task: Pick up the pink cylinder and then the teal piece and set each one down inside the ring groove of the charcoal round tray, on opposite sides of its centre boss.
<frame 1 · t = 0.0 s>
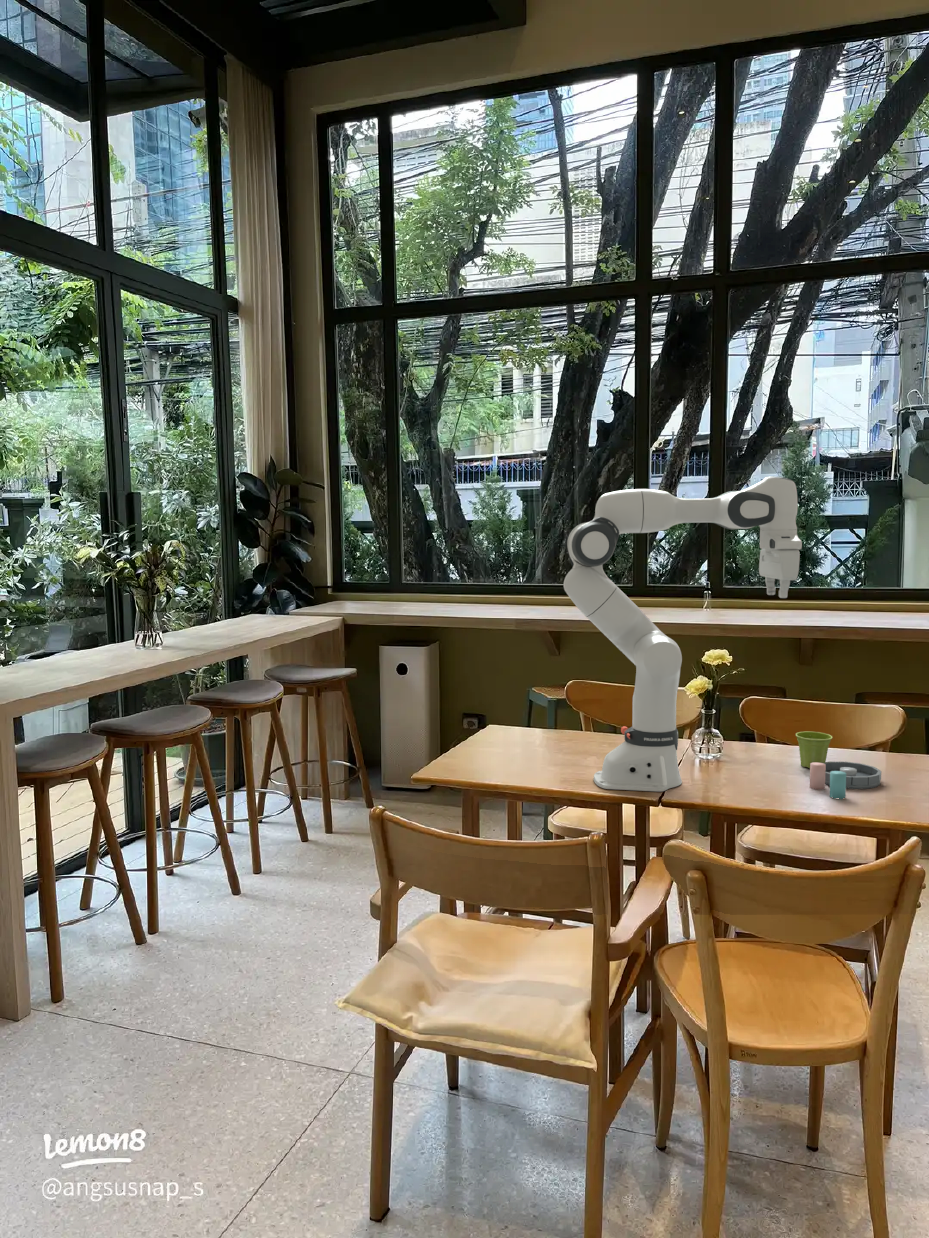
hand: (776, 596, 231), 48 cm above the table, tool pointing down, fingers open, 8 cm apart
teal piece: (837, 796, 221), on the table
groove tray: (847, 780, 235), on the table
pink cylinder: (817, 787, 229), on the table
plant pot: (813, 767, 249), on the table
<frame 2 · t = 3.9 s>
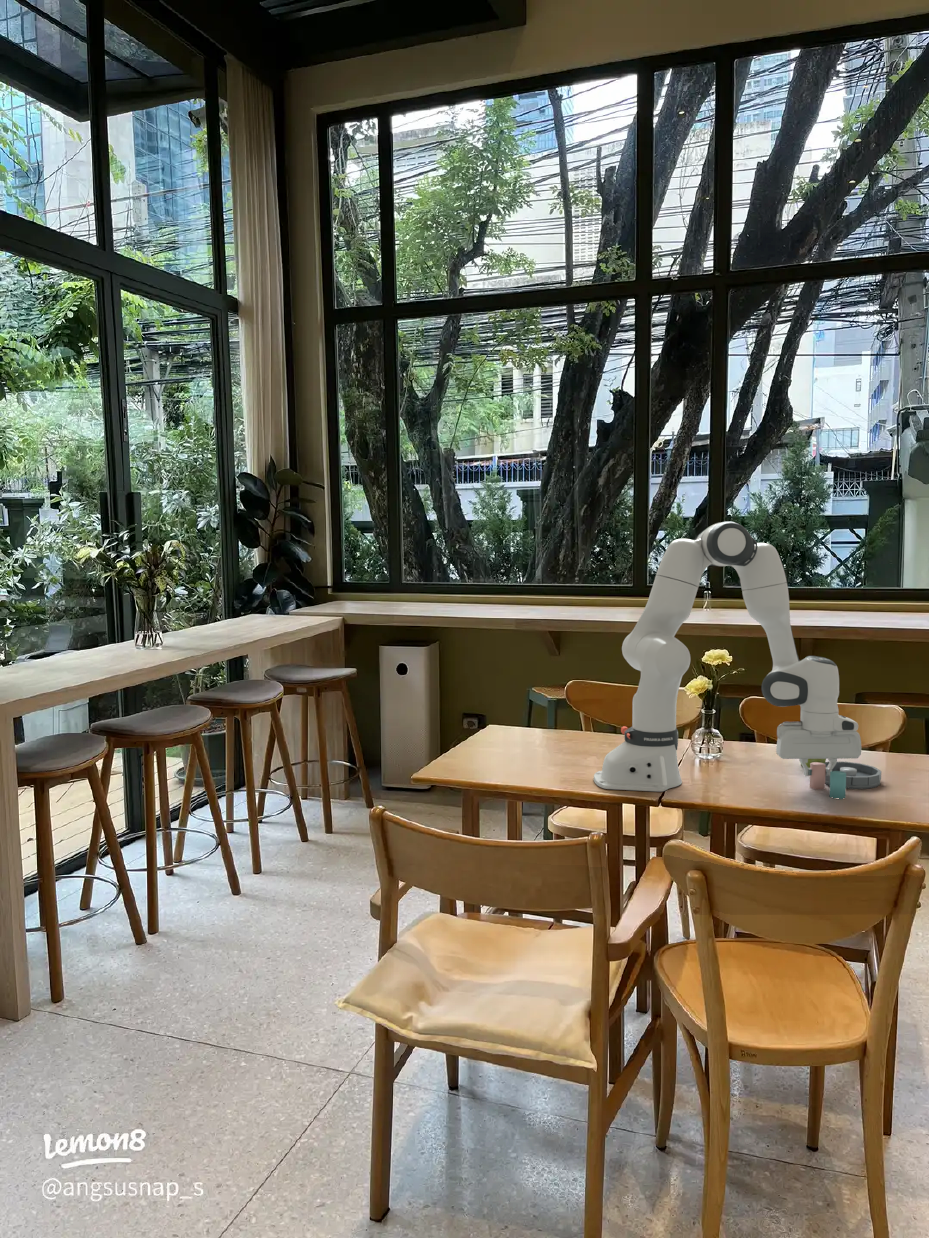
hand: (817, 775, 229), 3 cm above the table, tool pointing down, fingers closed on pink cylinder, 4 cm apart
pink cylinder: (817, 787, 229), on the table, touching gripper
everything else where it was.
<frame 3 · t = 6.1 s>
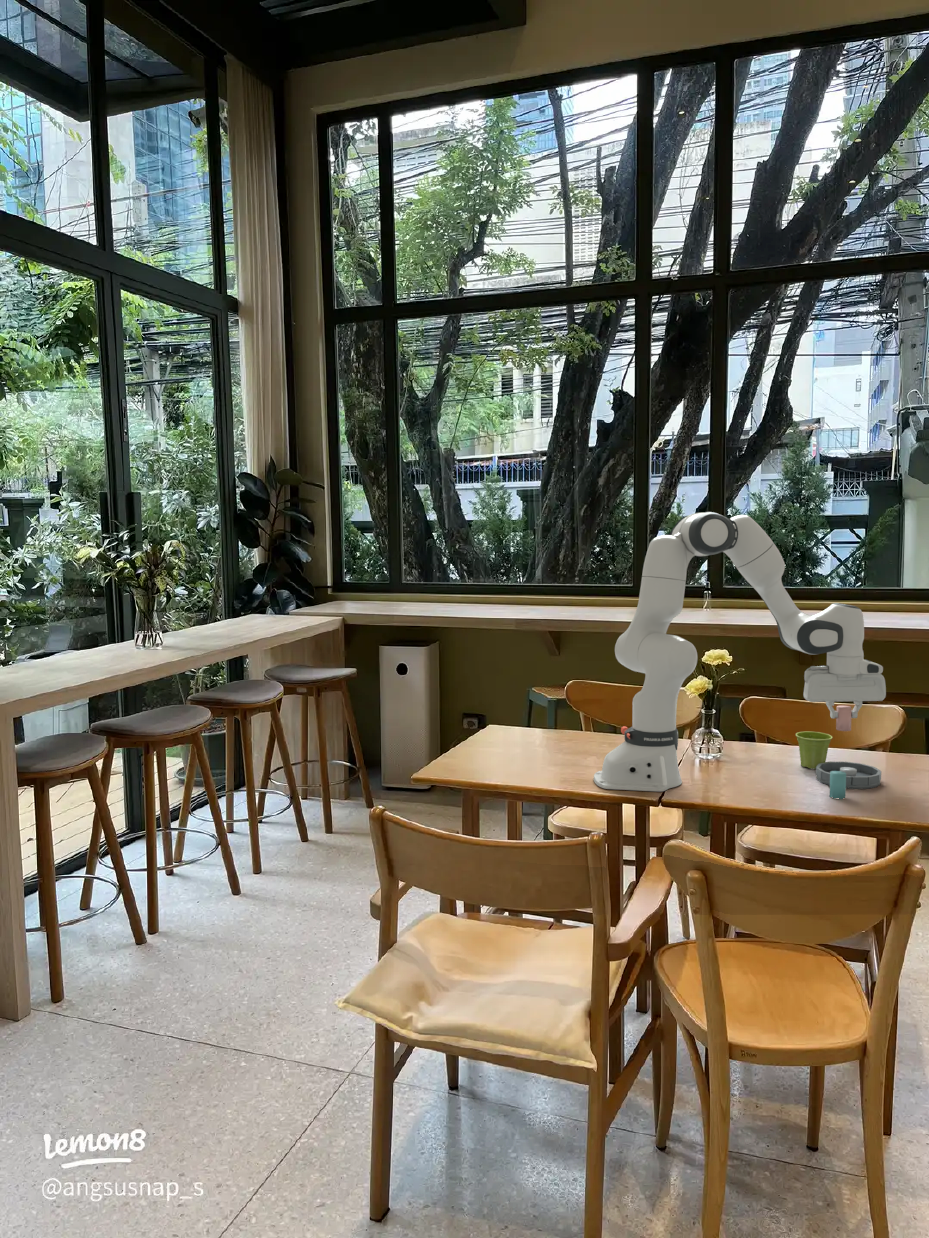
hand: (843, 717, 238), 16 cm above the table, tool pointing down, fingers closed on pink cylinder, 4 cm apart
pink cylinder: (843, 729, 238), point 12 cm above the table, touching gripper
everything else where it was.
when the fingers open (6 cm above the table, at t = 8.2 s): pink cylinder drops 1 cm, resting on groove tray.
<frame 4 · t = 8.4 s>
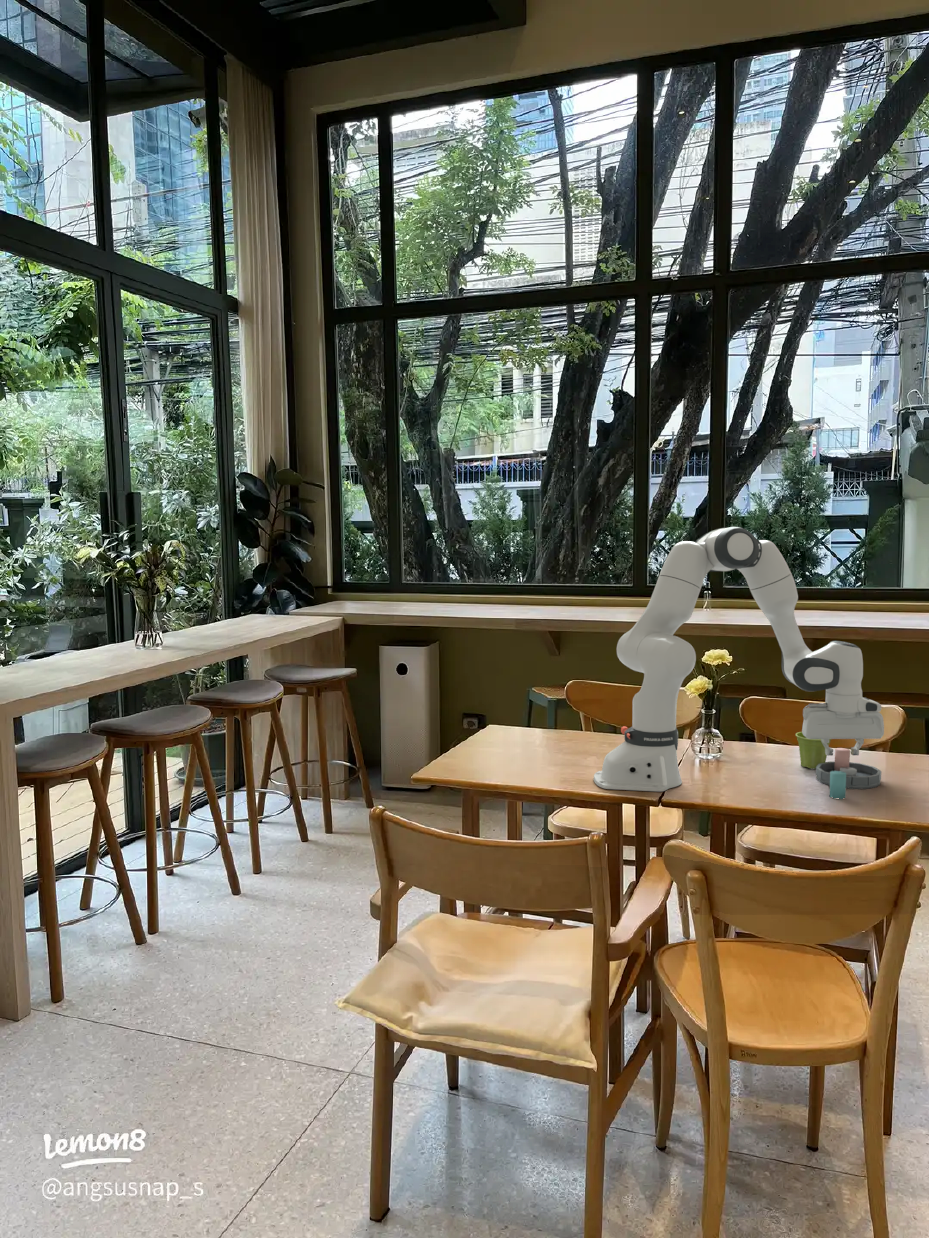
hand: (841, 754, 239), 6 cm above the table, tool pointing down, fingers open, 5 cm apart
pink cylinder: (841, 771, 239), point 1 cm above the table, touching groove tray
everything else where it was.
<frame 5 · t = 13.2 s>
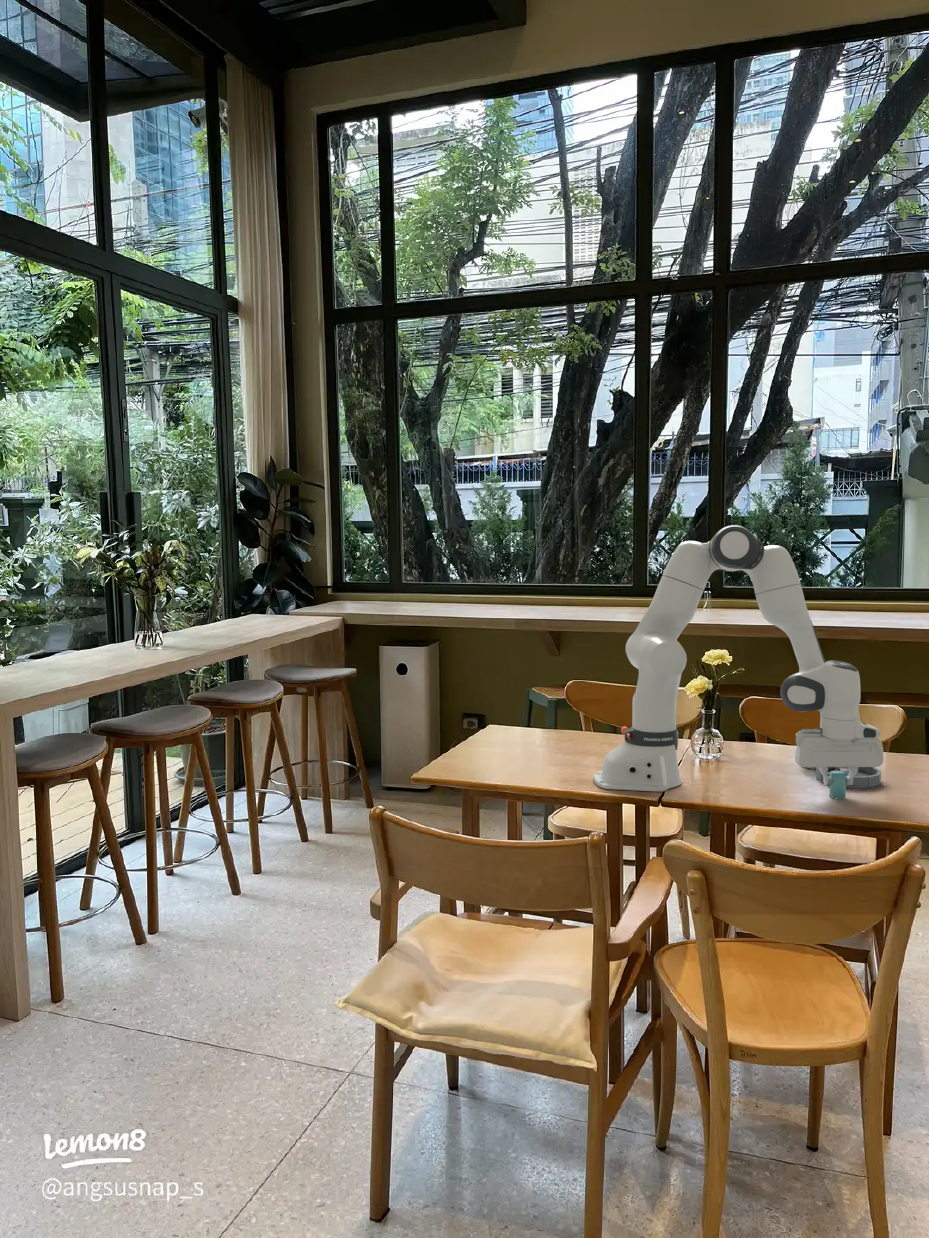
hand: (837, 784, 221), 3 cm above the table, tool pointing down, fingers closed on teal piece, 4 cm apart
teal piece: (837, 796, 221), on the table, touching gripper
everything else where it was.
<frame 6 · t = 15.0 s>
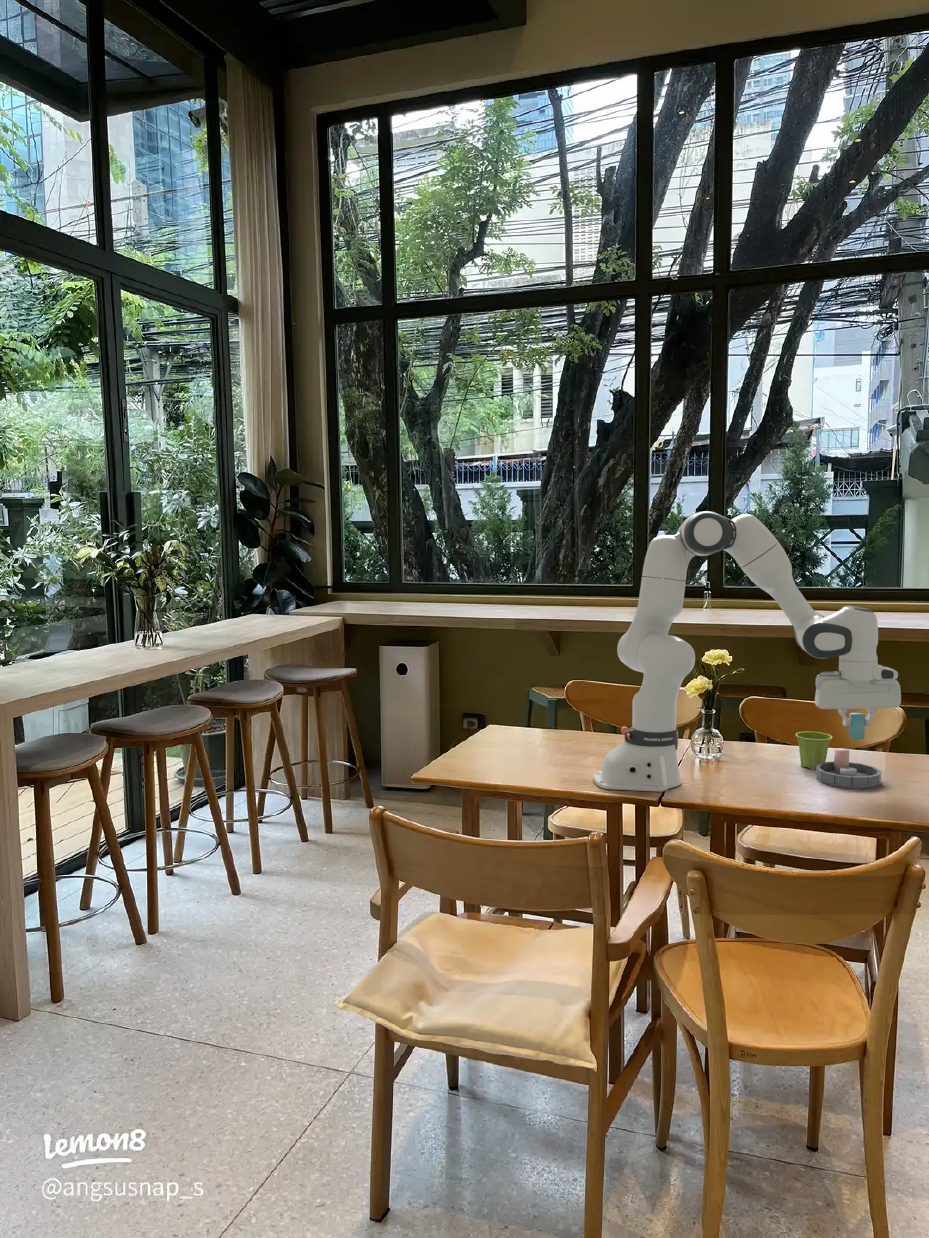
hand: (856, 725, 228), 16 cm above the table, tool pointing down, fingers closed on teal piece, 4 cm apart
teal piece: (856, 737, 228), point 13 cm above the table, touching gripper
everything else where it was.
when the fingers open (6 cm above the table, at t = 17.2 s): teal piece drops 1 cm, resting on groove tray.
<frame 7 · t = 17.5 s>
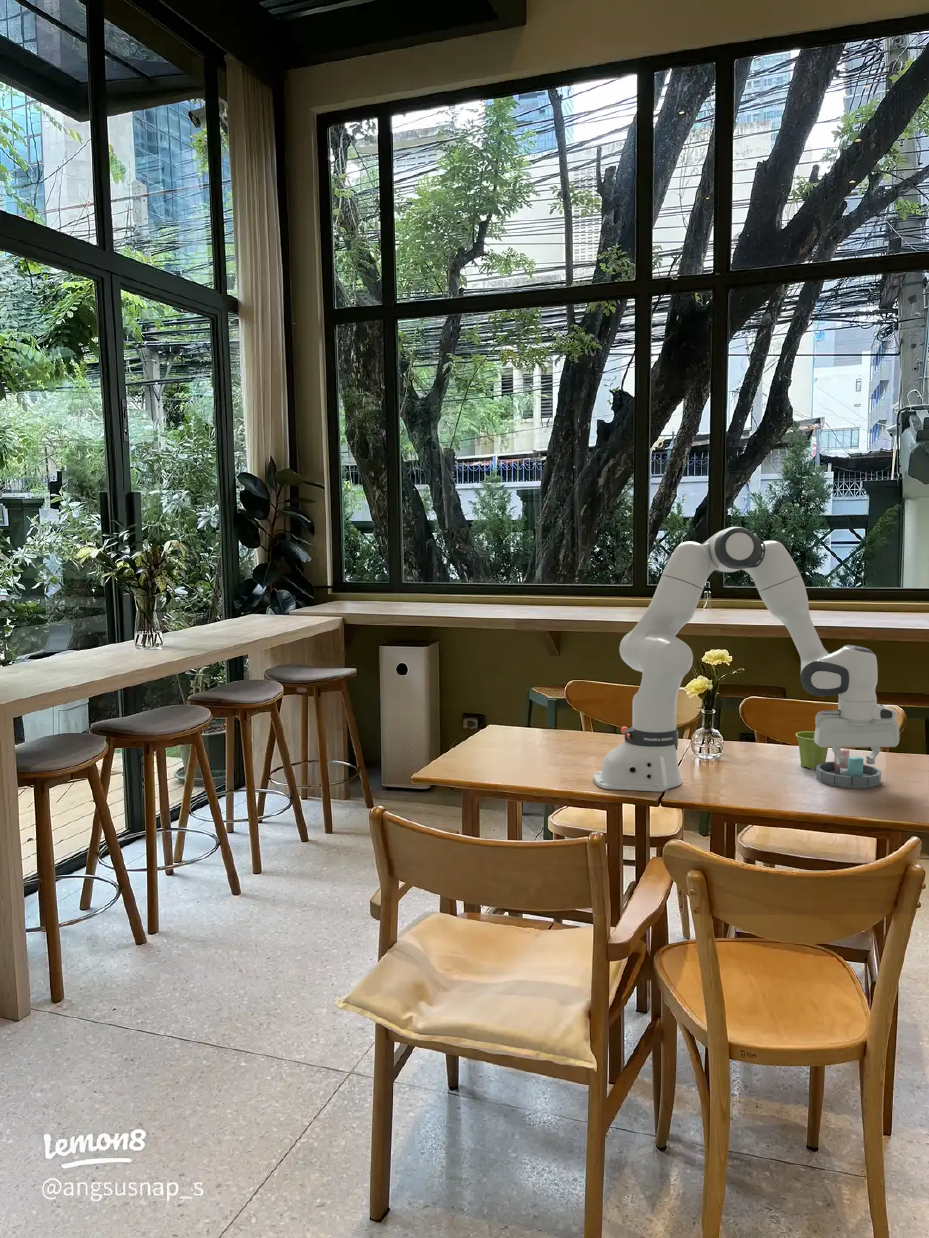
hand: (855, 763, 230), 6 cm above the table, tool pointing down, fingers open, 6 cm apart
teal piece: (854, 781, 231), point 1 cm above the table, touching groove tray
everything else where it was.
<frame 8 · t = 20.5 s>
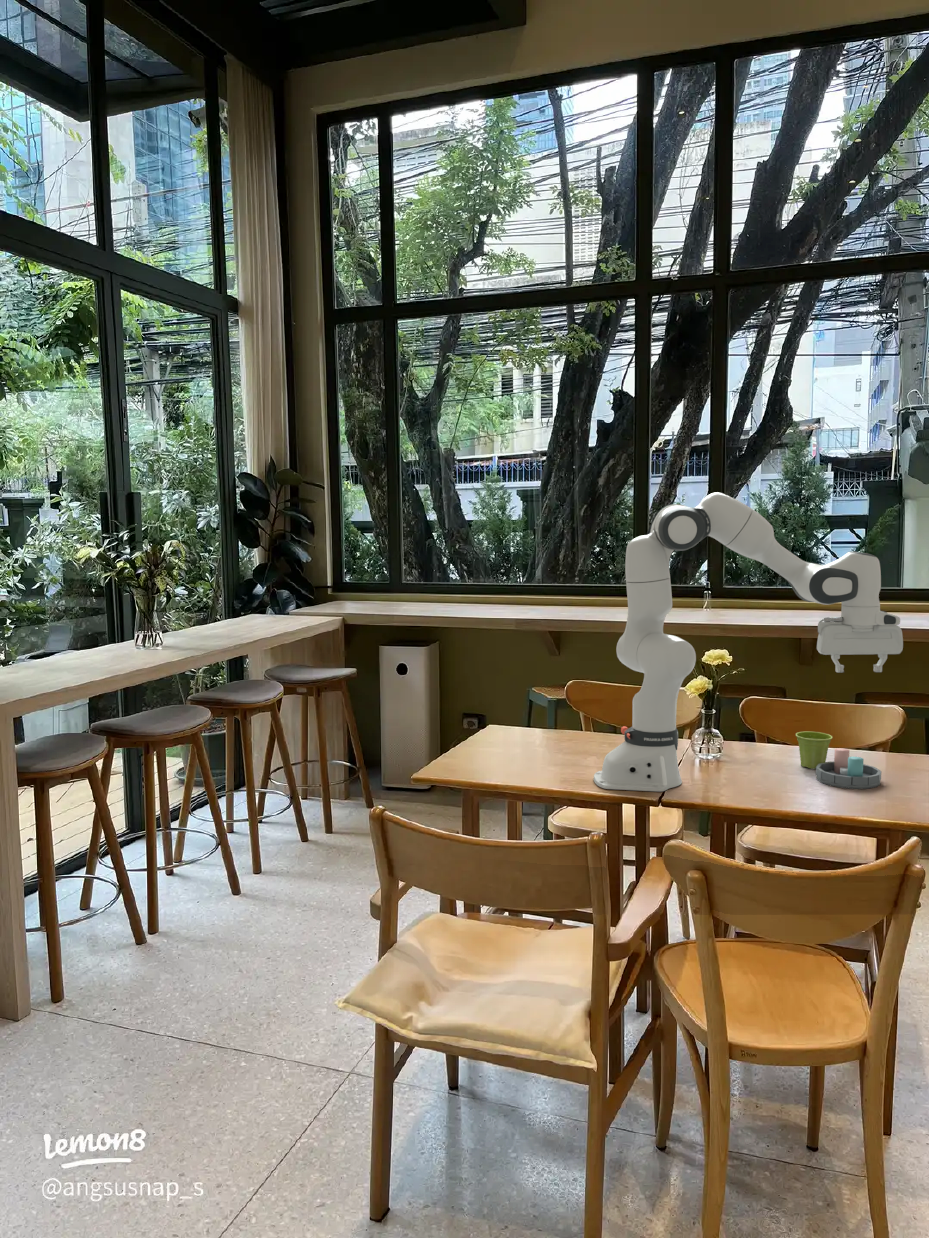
hand: (858, 672, 228), 29 cm above the table, tool pointing down, fingers open, 8 cm apart
nothing on the table moved.
at the end: pink cylinder 0.0 cm from the target spot on the groove tray, point 1.0 cm above the groove tray's base; teal piece 0.0 cm from the target spot on the groove tray, point 1.0 cm above the groove tray's base; the gripper is holding nothing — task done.
